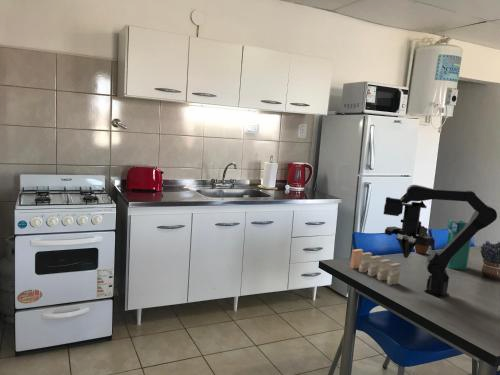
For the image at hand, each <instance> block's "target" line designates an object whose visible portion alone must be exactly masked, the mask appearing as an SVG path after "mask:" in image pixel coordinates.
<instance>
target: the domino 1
mask: <svg viewBox="0 0 500 375" xmlns="http://www.w3.org/2000/svg"><path fill="white" fill-rule="evenodd" d="M361 253H364V250H363V249H362V248H358V249H357V248H356V249H352V250H351V256H350V266H349V268H350V269H354V268H355V269H359V265H360V257H361Z"/></svg>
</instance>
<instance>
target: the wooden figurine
mask: <svg viewBox="0 0 500 375" xmlns="http://www.w3.org/2000/svg"><path fill="white" fill-rule="evenodd" d="M422 226H423V227H425V225H422ZM417 236H423V235H417ZM426 236H429V234H428V233H427V234H426ZM429 247H430V246H422V245H419V244H416V245H415V246H414V247H413V249H414V251H415V253H416V254H420V255H425V254H427V251H428V249H429Z"/></svg>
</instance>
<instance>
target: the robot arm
mask: <svg viewBox="0 0 500 375" xmlns="http://www.w3.org/2000/svg"><path fill="white" fill-rule="evenodd" d="M429 200H430V201H431V200H441V201H451V202H452V201H456V202H466V203H468V205H470V207H471V208H472V209H473V210H474V212H473V213H472V215H471V217H470V219H469V221H468V222H467V223H468V224H467V225H466V226H465V227H464V228H463V229H462V230H461V231H460V232H459V233H458V234H457V235H456V236H455V237H454V238H453V239H452V240H451V241H450V242H449V243H448V244H447V243H446V245H445V246H444V247H443V248H442V249H441V250H439V251H436V250H435V249H434V250H432V252H431V253H430V254H429V255H427V257H426V261H425V266H426V269H427V272H428V273H429V274H430V275H428V278H427V282H426V289H424V290H423V291H424V292H425V293H428V294H429V295H432V296H435V297H437V298H444V297H447V296H450V293H448V287H449V279H450V276H449V274H448V271H447V270H446V269H447V268H448V267H447V265H448V263H449V261H450V259H451V258H452V257H453V256H454V255H455V254H456V253H457V252H458V251H459V250H460V249H461V248H462V247H463V246H464V245H465V244H466V243H467V242H468V241H469V240H470V239H471V238H473V237H474V236H475V235H476V234H477V233H478V232H479V231H480V230H483V229H485V228H486V227H488V226H489V225H491V224H492V223H494V222H495V221H496V220H497V218H498V213H497V211H496V209H494V208H493V207H491V205H487V204H485V202H484V201H482V200H481V198H479V197H478V196H477V195H476V193H475V192H474V191H472V190H470V189H467V190H460V189H459V190H458V189H457V190H456V189H443V188H442V189H441V188H439V189H438V188H430V187H426V186H423V185H418V184H411V185H409V186H408V187H407V188H406V193H404V195H402V196H401V197H400V198H395V197H390V196H386V197H385V203H384V207H383V215H386V216H393V217H399V215H402V214H403V216H402V217H403V218H402V219H400V223H402V225H401V227H397V226H386V227H385V228H384V235H387V236H393V234H394V235H396V236H397V237H396V238H395V239H396V240H397V242H398V244H399V246H400V249H401V252H402V255H403V258H406V259H408V257H409V256H410V254H411V252H412V250H413V249H414V246H415V245H416V244H419V245H422V246H429V247H430V246H435V241H436V240H435V238H434V237H432V236H429V235H428V236H426V234H428V230H429V228H427V227H425V226H424V225H422V221H420V217H421V210H422V209H427V205H426V204H425V203H424V201H429ZM410 202H411V203H410ZM403 210H404V211H403ZM423 226H424V227H423ZM418 235H423V236H418ZM471 240H472V239H471Z"/></svg>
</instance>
